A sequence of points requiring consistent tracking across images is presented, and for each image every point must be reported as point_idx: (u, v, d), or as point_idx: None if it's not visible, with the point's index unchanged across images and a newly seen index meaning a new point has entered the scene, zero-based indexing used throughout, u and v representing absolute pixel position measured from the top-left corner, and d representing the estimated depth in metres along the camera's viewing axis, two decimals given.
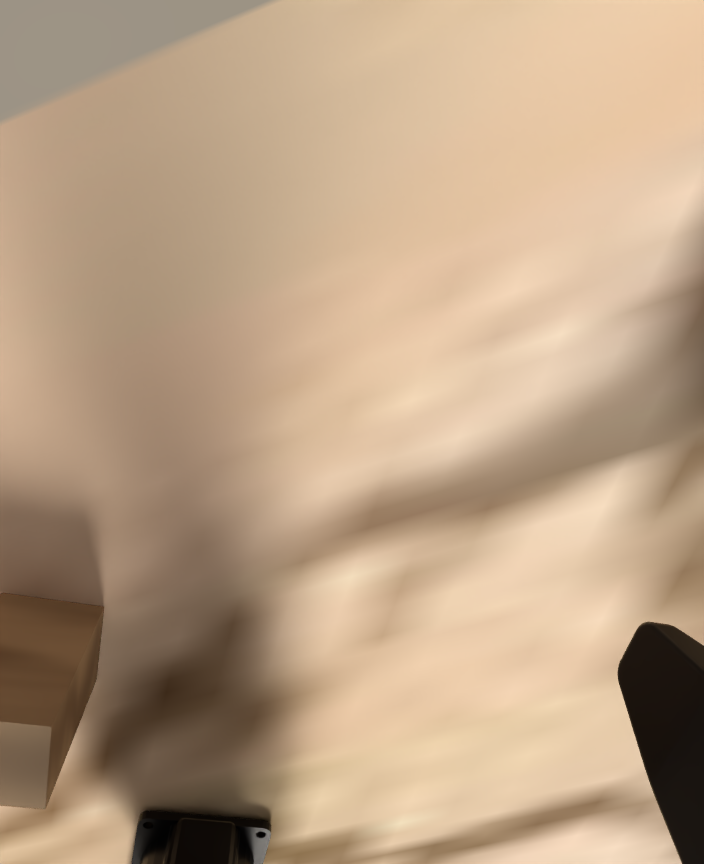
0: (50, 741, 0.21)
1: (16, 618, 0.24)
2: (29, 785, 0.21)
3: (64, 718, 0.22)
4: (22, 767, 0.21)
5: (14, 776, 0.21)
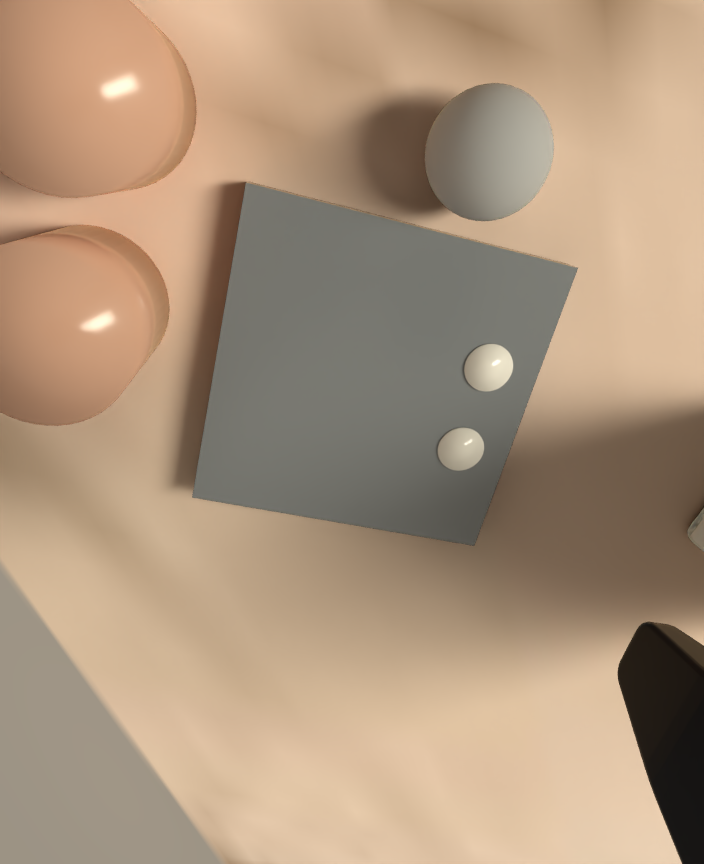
0: None
1: None
2: None
3: None
4: None
5: None
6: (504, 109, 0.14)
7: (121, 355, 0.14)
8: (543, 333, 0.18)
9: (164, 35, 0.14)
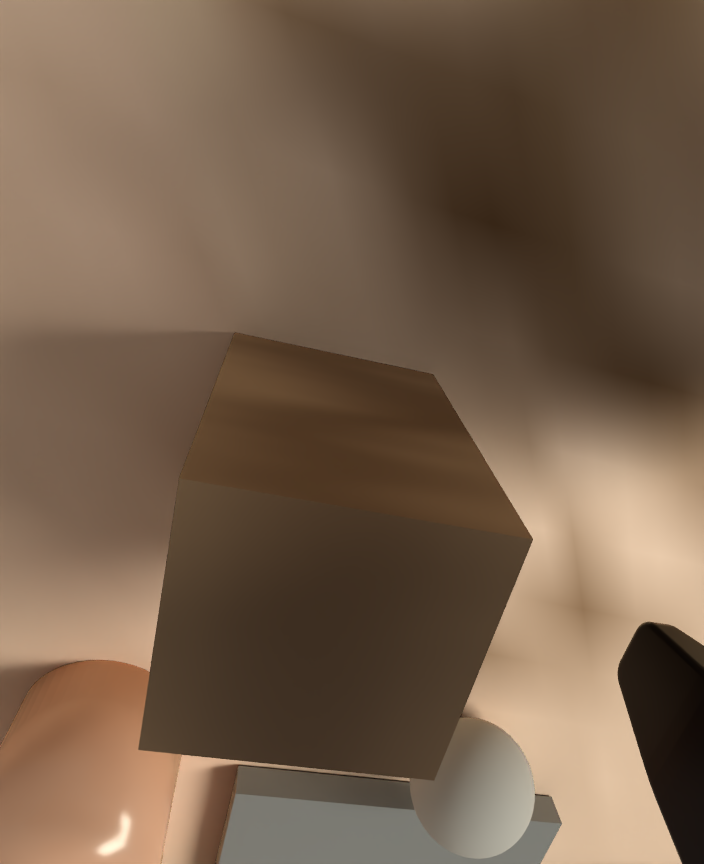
0: (248, 489, 0.07)
1: None
2: (425, 565, 0.07)
3: (300, 442, 0.08)
4: (346, 572, 0.07)
5: (381, 595, 0.07)
6: (484, 807, 0.14)
7: None
8: None
9: None
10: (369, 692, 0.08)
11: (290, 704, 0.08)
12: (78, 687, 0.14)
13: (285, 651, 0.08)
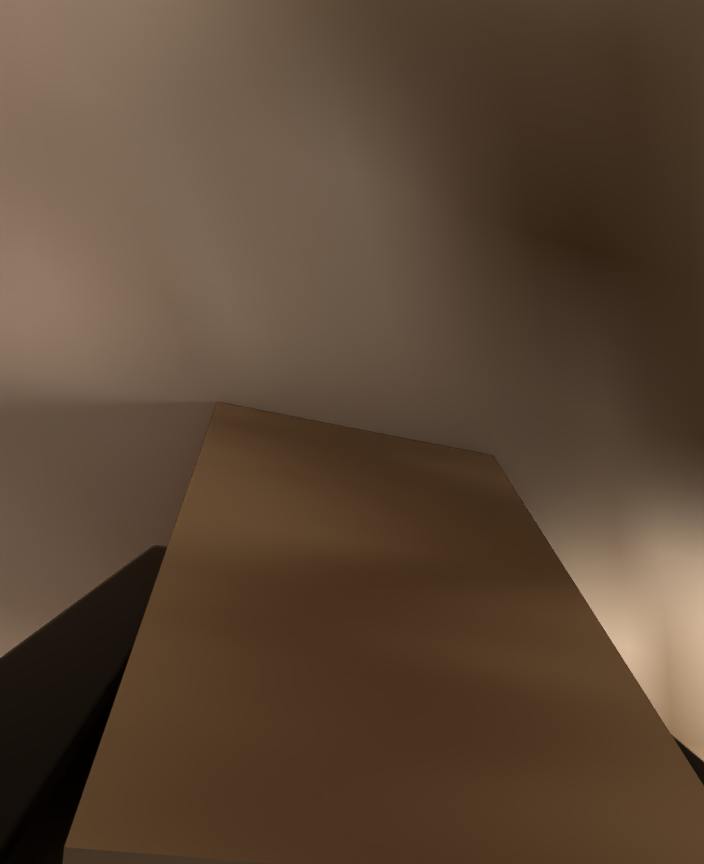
0: (215, 851, 0.03)
1: None
2: None
3: (318, 659, 0.05)
4: None
5: None
6: None
7: None
8: None
9: None
10: None
11: None
12: None
13: None
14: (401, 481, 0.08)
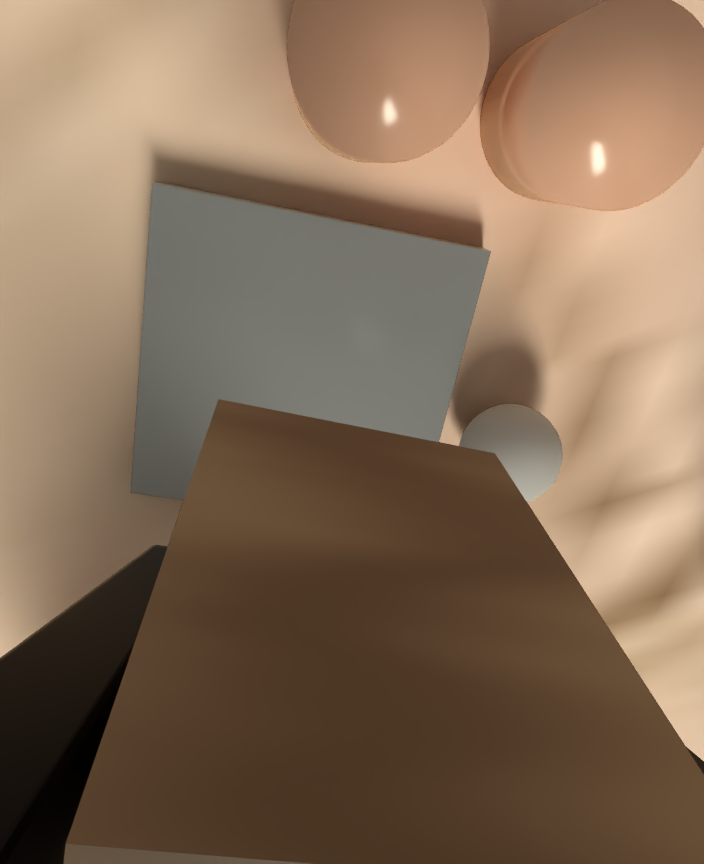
0: (218, 848, 0.03)
1: None
2: None
3: (321, 655, 0.05)
4: None
5: None
6: (553, 468, 0.18)
7: (372, 146, 0.13)
8: None
9: None
10: None
11: None
12: None
13: None
14: (403, 478, 0.08)
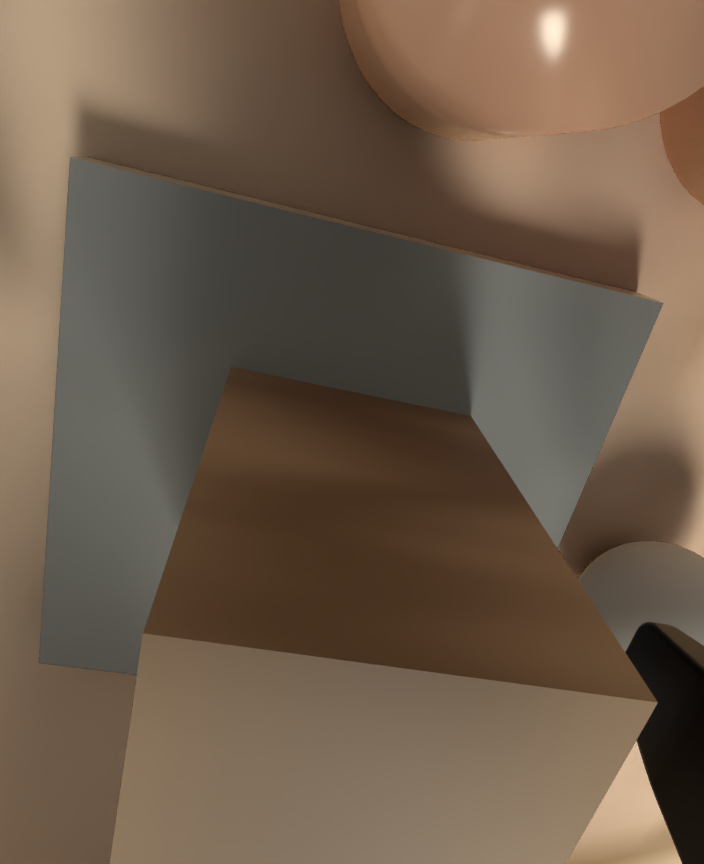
0: (247, 644, 0.04)
1: None
2: (499, 738, 0.05)
3: (319, 543, 0.06)
4: (388, 749, 0.05)
5: (436, 775, 0.05)
6: None
7: (539, 92, 0.06)
8: None
9: None
10: None
11: None
12: None
13: (299, 846, 0.05)
14: (389, 431, 0.09)
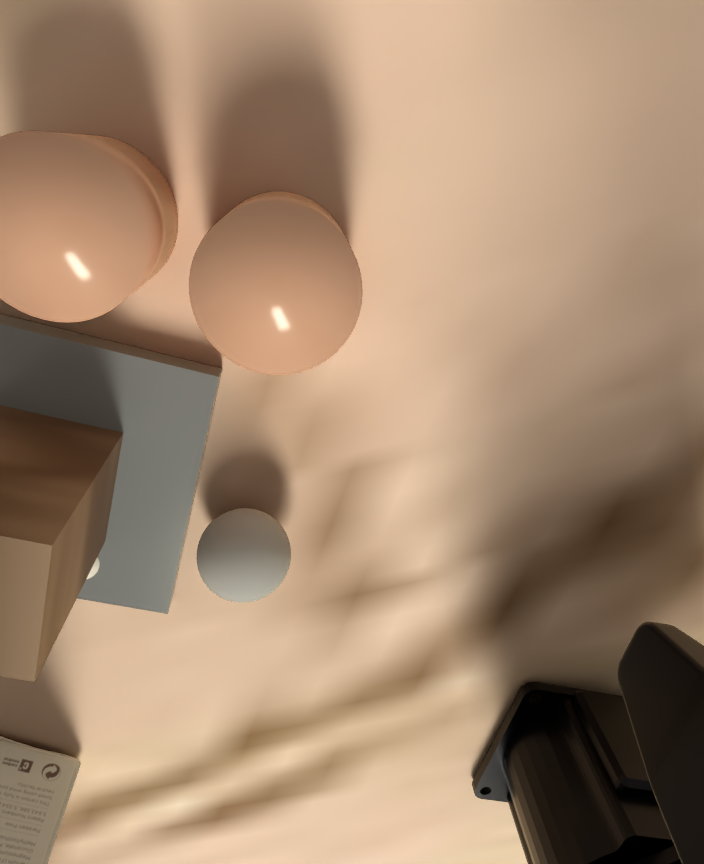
0: None
1: None
2: None
3: None
4: None
5: None
6: (269, 575, 0.19)
7: (45, 307, 0.14)
8: (112, 597, 0.21)
9: None
10: None
11: None
12: None
13: None
14: (51, 439, 0.17)
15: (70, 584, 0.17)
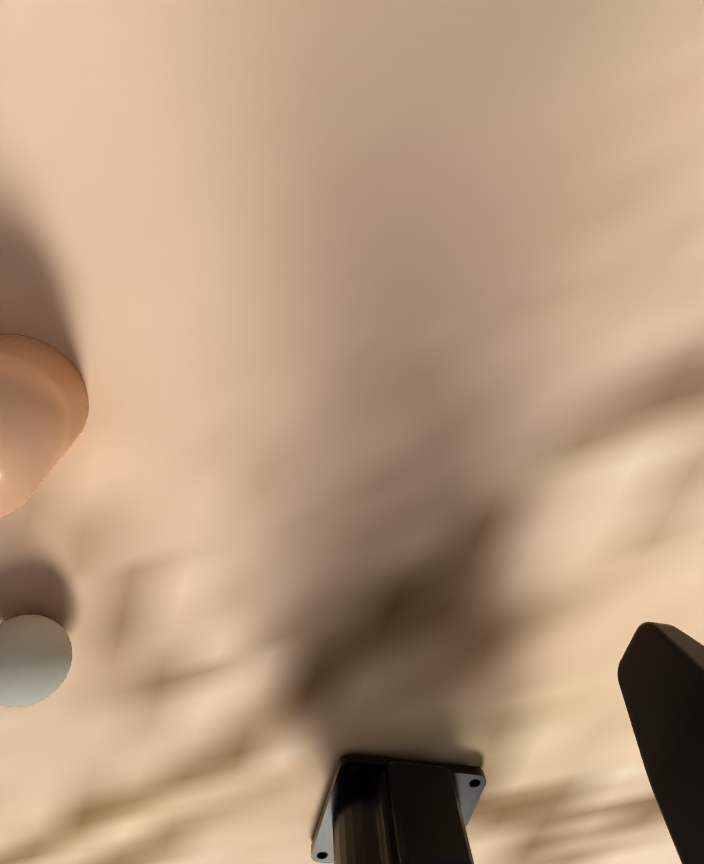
0: None
1: None
2: None
3: None
4: None
5: None
6: (36, 684, 0.20)
7: None
8: None
9: None
10: None
11: None
12: (78, 403, 0.19)
13: None
14: None
15: None
